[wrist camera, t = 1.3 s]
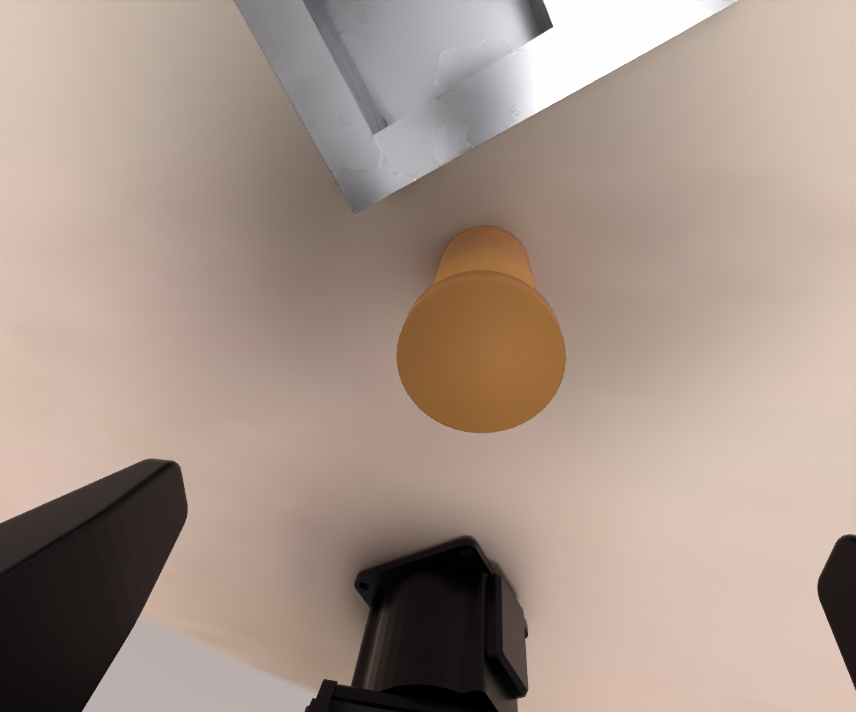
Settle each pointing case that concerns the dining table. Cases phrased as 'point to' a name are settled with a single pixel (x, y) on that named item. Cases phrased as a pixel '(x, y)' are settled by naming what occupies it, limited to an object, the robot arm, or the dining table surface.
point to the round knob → (481, 338)
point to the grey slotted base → (442, 71)
